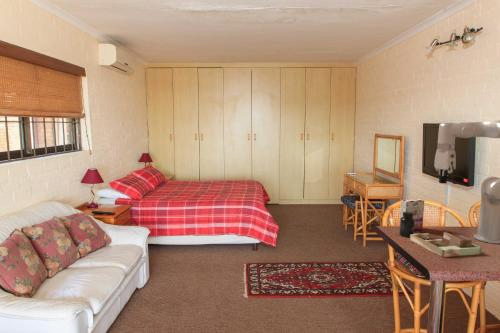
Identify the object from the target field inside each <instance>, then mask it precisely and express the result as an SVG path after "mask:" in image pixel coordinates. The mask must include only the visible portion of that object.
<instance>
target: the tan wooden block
mask: <svg viewBox="0 0 500 333" xmlns="http://www.w3.org/2000/svg"><path fill="white" fill-rule="evenodd" d="M471 244H473V239H471V238H469V237H466V236H464V235H462V234H461V235H453V236H450V241H449V246H457V247H459V248H470V247H471Z"/></svg>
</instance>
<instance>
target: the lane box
mask: <svg viewBox="0 0 500 333" xmlns="http://www.w3.org/2000/svg"><path fill="white" fill-rule="evenodd" d="M450 236H454V235H453V234H450V233H449V232H446V231H444V232H443V236H442V237H443V239H445V240H446V241H447V240H448V241H449V242H450ZM426 239H429V240H426ZM443 239H441V238H439V239H438V238H437V239H436V238H435V239H430V233H429V232H425V233H424V232H423V233H414V234H410V237H409V240H410V242H412V243H414V242H415V243H414V244H416V243H417V244H416V245H419V246H421V247H422V248H424V249H426V250H428V251H430V252H432V253H434V254H435V255H437V256H440V257H441V258H446V257H447V258H448V257H461V250H462V249H460V248H456V249H441V248H439V247H437V246H442V247H443Z"/></svg>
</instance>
